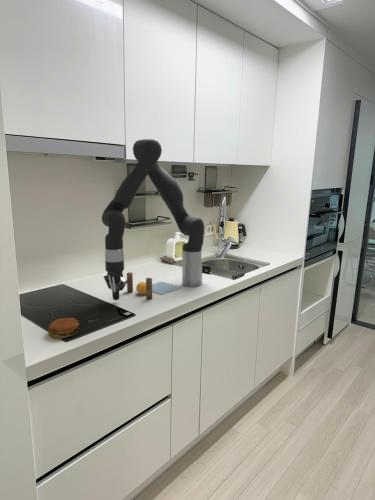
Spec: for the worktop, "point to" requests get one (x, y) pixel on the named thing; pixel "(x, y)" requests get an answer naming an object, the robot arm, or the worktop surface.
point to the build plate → (206, 269)
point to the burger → (63, 328)
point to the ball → (141, 288)
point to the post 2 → (148, 288)
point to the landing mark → (163, 288)
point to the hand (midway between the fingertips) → (115, 299)
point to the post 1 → (129, 282)
